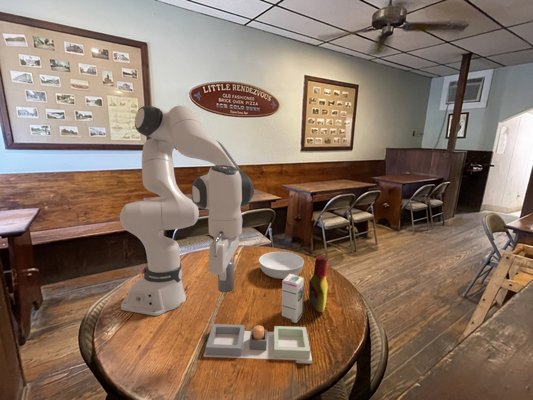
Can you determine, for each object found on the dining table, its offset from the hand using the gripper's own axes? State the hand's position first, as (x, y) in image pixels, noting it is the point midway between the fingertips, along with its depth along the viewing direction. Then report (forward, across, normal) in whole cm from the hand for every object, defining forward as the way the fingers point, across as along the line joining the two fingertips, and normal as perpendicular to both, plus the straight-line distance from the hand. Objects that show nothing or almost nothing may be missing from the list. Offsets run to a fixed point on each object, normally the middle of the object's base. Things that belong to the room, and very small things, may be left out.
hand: (225, 274), depth 75 cm
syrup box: (+23, +16, -19) cm, 34 cm away
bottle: (+23, +24, -29) cm, 44 cm away
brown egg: (+21, +1, -9) cm, 23 cm away
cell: (+4, 0, 0) cm, 4 cm away
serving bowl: (+23, +48, -14) cm, 55 cm away
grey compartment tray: (+23, +1, -10) cm, 25 cm away
